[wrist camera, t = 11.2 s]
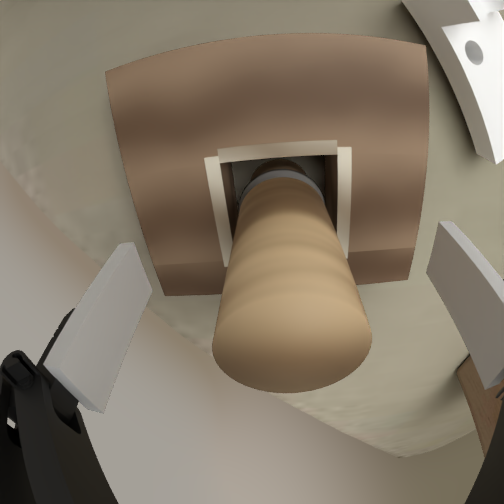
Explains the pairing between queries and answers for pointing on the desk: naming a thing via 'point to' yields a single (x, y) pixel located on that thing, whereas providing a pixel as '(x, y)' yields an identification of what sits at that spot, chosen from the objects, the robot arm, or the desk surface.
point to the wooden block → (480, 401)
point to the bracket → (470, 62)
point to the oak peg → (288, 290)
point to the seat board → (274, 144)
